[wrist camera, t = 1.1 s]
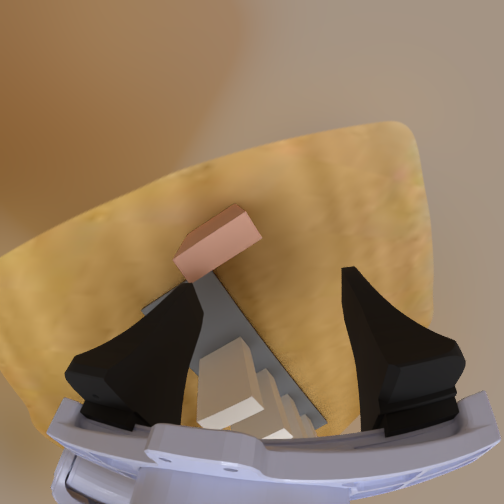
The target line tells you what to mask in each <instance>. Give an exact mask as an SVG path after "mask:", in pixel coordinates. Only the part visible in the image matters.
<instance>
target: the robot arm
mask: <svg viewBox="0 0 504 504" xmlns="http://www.w3.org/2000/svg"><path fill="white" fill-rule="evenodd" d="M341 269H342V308H343V314H344V320H345V324H346V328H347V331H348V335H349V339H350V343H351V347H352V350H353V354H354V359H355V364H356V371H357V379H358V389H359V400H360V415H361V432H358V433H351V434H344V435H335V436H325V437H313V438H295V439H258V438H256V437H255V436H253V435H250V434H246V433H243V432H237V431H230V430H219V429H207V428H197V427H189V426H181V425H180V424H181V412H182V403H183V396H184V389H185V384H186V378H187V373H188V369H189V366H190V363H191V360H192V356H193V353H194V350H195V347H196V344H197V341H198V338H199V335H200V332H201V328H202V323H203V316H204V312H203V309H202V307H201V304H200V301H199V299H198V296H197V294H196V291H195V288H194V286H193V283H181V284H180V285H179V286H178V287H176V288H175V289H174V290H173V291H172V292H171V293H170V294H169V295H168V296H167V297H166V298H164V299H163V300H162V301H161V302H160V303H159V304H158V305H157V306H156V307H155V308H154V309H153V310H151V311H150V312H149V313H148V314H147V315H146V316H144V317H143V318H142V319H141V320H140V321H138V322H137V323H136V324H135V325H133V326H132V327H130V328H129V329H128V330H126V331H125V332H123V333H122V334H120V335H118V336H117V337H115V338H113V339H112V340H110V341H108V342H106V343H104V344H103V345H100V346H98V347H96V348H94V349H92V350H89V351H87V352H84V353H82V354H79V355H76V356H75V357H74V358H73V360H72V362H71V363H70V365H69V367H68V368H67V370H66V372H65V378H66V380H67V381H68V383H69V384H70V385H71V386H72V387H73V389H74V390H75V391H76V392H77V393H78V394H79V395H80V396H81V397H82V398H83V399H84V400H85V402H84V404H83V405H82V404H81V403H79V402H77V401H74V400H71V399H69V398H66V397H65V398H63V400H62V402H61V404H60V406H59V408H58V410H57V412H56V414H55V416H54V418H53V420H52V422H51V424H50V426H49V428H48V430H47V434H48V435H49V436H50V437H52V438H53V439H54V440H56V441H57V442H58V443H60V444H61V445H63V446H64V447H65V448H64V450H63V453H62V455H61V458H60V460H59V462H58V465H57V467H56V470H55V473H54V476H55V477H54V480H53V482H52V485H51V489H52V495H53V497H54V499H55V500H56V502H57V503H58V504H350V500H356V499H361V498H366V497H370V496H375V495H379V494H384V493H388V492H391V491H395V490H399V489H402V488H405V487H409V486H412V485H415V484H418V483H421V482H424V481H427V480H430V479H432V478H435V477H438V476H440V475H443V474H446V473H448V472H451V471H453V470H456V469H458V468H460V467H463V466H465V465H467V464H470V463H472V462H474V461H475V460H476V459H478V458H479V457H481V456H482V455H483V454H484V453H486V452H487V451H489V450H490V449H491V448H493V447H494V446H495V445H496V444H497V443H499V442H500V440H501V437H500V433H499V430H498V427H497V423H496V420H495V417H494V414H493V411H492V408H491V405H490V403H489V399H488V397H487V394H486V391H481V392H478V393H476V394H473V395H470V396H468V397H465V398H463V399H461V400H460V401H458V402H456V399H455V396H456V394H457V391H456V388H455V384H456V383H457V381H458V379H459V378H460V376H461V374H462V372H463V370H464V368H465V359H464V356H463V354H462V352H461V350H460V348H459V346H458V344H457V343H456V341H455V340H452V339H450V338H447V337H444V336H442V335H440V334H437V333H435V332H433V331H431V330H429V329H427V328H425V327H423V326H422V325H420V324H418V323H416V322H415V321H413V320H412V319H410V318H409V317H407V316H406V315H404V314H403V313H401V312H400V311H399V310H397V309H396V308H395V307H394V306H392V305H391V304H390V303H389V302H388V301H387V300H386V299H385V298H383V297H382V296H381V295H380V294H379V293H378V292H377V291H376V290H375V289H374V288H373V287H372V285H371V284H370V283H369V282H368V281H367V280H366V279H365V278H364V277H363V275H362V274H361V273H360V272H359V271H358V269H357V268H356V267H354V266H353V267H345V268H341Z"/></svg>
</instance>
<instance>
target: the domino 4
mask: <svg viewBox="0 0 504 504" xmlns="http://www.w3.org/2000/svg"><path fill="white" fill-rule="evenodd" d="M280 398H281V401H282V404H283V407H284V410H285V413H286V416H287V419H288V422H289V425H290V428H291V431H292V434H293V438H291V439H295V438H308V436H307V434H306V431H305V428H304V426H303V423H302V421H301V418H300V415H299V413H298V410H297V408H296V405H295V402H294V401H293V400H292V398H291V397H290V396H289V395H288V394H286V395H284V396H282V397H280Z"/></svg>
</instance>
